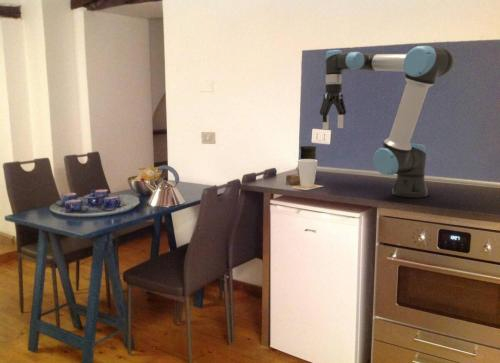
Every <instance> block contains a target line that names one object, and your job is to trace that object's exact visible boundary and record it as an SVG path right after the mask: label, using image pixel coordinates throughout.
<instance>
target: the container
mask: <svg viewBox="0 0 500 363" xmlns="http://www.w3.org/2000/svg"><path fill="white" fill-rule="evenodd" d="M316 150H317V147H316V146H313V145H301V146H300V159H314V160H317V159H316V156H317V154H316V152H317V151H316ZM316 181H317V174H316V175H315V182H316Z"/></svg>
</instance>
